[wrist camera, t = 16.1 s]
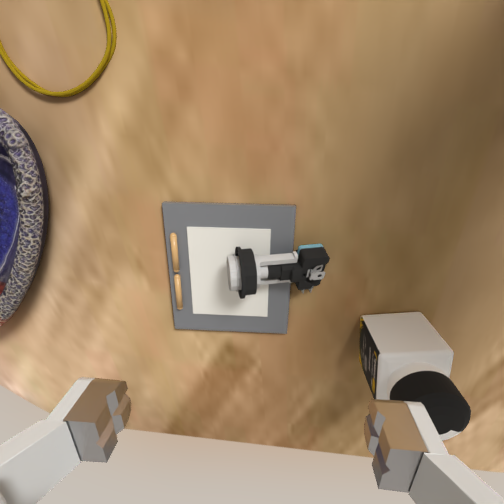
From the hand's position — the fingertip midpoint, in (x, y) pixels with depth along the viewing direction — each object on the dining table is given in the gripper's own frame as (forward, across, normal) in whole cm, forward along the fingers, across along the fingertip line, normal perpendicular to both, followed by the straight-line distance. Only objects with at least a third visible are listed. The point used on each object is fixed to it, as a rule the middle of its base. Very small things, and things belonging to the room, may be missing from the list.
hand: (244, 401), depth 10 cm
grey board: (+23, +4, +7) cm, 25 cm away
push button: (+22, -6, +6) cm, 24 cm away
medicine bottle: (+24, -15, +16) cm, 33 cm away
